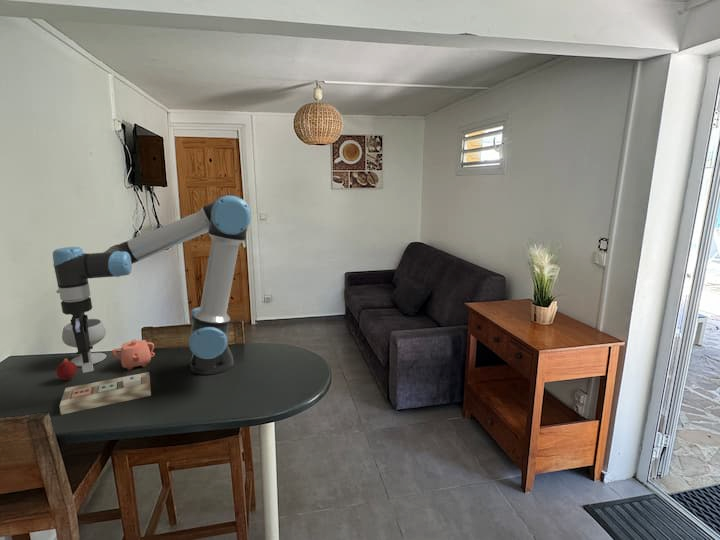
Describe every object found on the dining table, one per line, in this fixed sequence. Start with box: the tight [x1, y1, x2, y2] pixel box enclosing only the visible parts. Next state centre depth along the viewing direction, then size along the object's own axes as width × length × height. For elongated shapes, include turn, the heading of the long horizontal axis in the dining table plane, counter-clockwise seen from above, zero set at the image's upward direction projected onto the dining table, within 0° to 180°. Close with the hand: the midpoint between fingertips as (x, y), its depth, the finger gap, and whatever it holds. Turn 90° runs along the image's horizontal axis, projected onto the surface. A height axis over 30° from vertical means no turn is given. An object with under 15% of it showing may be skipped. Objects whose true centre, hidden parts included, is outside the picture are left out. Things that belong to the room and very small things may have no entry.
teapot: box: [111, 339, 156, 371], centre depth 154 cm, size 12×12×10 cm
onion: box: [56, 357, 78, 381], centre depth 142 cm, size 6×6×8 cm
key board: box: [59, 371, 152, 416], centre depth 132 cm, size 24×12×3 cm, turn 118°
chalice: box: [61, 318, 107, 367], centre depth 157 cm, size 14×14×15 cm
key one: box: [122, 373, 142, 388], centre depth 135 cm, size 5×5×3 cm
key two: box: [98, 382, 118, 393], centre depth 132 cm, size 5×5×3 cm
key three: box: [71, 387, 93, 399], centre depth 129 cm, size 5×5×3 cm
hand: (88, 370), depth 128 cm, fingers closed
